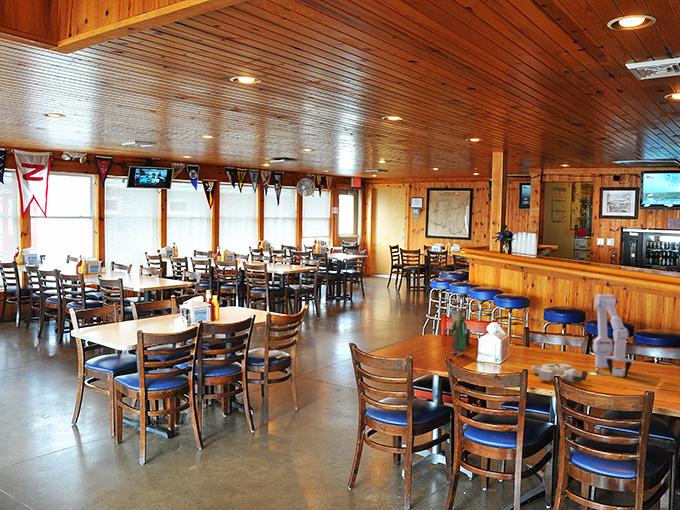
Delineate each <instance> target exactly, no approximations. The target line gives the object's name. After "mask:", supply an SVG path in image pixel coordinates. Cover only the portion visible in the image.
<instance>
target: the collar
mask: <svg viewBox="0 0 680 510" xmlns="http://www.w3.org/2000/svg"><path fill="white" fill-rule="evenodd" d="M611 376H613V377H618V378H619V377H620V378H623V377H625V367H622V366H621V367H620V366H612V373H611Z"/></svg>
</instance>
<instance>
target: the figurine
mask: <svg viewBox="0 0 680 510" xmlns="http://www.w3.org/2000/svg"><path fill="white" fill-rule="evenodd" d="M456 311H457V317H456V321H455V322H454V324H453V323H452V325H451V326H449V329H451V332H452V333H453V332H454V331H455V333H454V338H453V339H452V344H451V349H452V350H453V351H452V352H451V355H456V357H462V355H463V354H462V353H465V352H467V347H466V345H467V344H465V339H464V333H463V323H464V328H465V337H466V334H467V329H468V326H467V323H466V319H465V317H464V318H463V317H462V316H463V314H464V313H467V311H466V309H465V308H463V307H462V308H459V309H458V310H456ZM462 312H463V313H462ZM464 319H465V320H464Z"/></svg>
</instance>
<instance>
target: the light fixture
mask: <svg viewBox="0 0 680 510" xmlns="http://www.w3.org/2000/svg"><path fill="white" fill-rule="evenodd" d="M457 311H458V310H450V312H449V314H450V318H451V320H452V325H453V324H454V322H455V321H456V317H457ZM462 313H464V312H462ZM462 317H463V318H464V320H465V321H466V319H465V315H464V314H463V316H462ZM454 333H455V331H454V332H453V338H454ZM463 333H464V339H465V345H467V344H470V343H471V342H470V340H471V329H469V328H467V334H466V337H465V328H464V323H463Z"/></svg>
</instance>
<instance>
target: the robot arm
mask: <svg viewBox="0 0 680 510" xmlns="http://www.w3.org/2000/svg"><path fill="white" fill-rule="evenodd" d="M616 305H617V298H616V295H615V294H601V293H600V294H599V293H598V294H596V295H595V297H594V307H595V309H597V311H596V312H597V313H596V315H597V337H596V338H595V339H593V340H592V341H593V344H592V351H593V352H594V354H595V358H594V359H595V361H594V365H595V368H600V369H609V374H612V368H613V363H614V362H615V361H616V362H621V363H625V365H624V366H625V367H624V368H625V375H624V377H625V376H626V377H627V376H628V373H629V370H630V368H631V366H632V364H634V363H635V360H634V359H632V358H627V357H626V349H627V339H629V338H630V337H629V336H630V332H629V329H628V328H626V327H625V326H624V324H623V321H622V318H621V317H620V316H618V313H617V309H616ZM607 313H608V315H609V317H610V318H611V319H610V320H609V321H610V324H611V325H610V326H611V327H612V330H613V332H612V336H613V341H612V340H611V339H610V338H609V337H608V315H607ZM613 342H614V345H613ZM612 353H613V355H611V354H612Z"/></svg>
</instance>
